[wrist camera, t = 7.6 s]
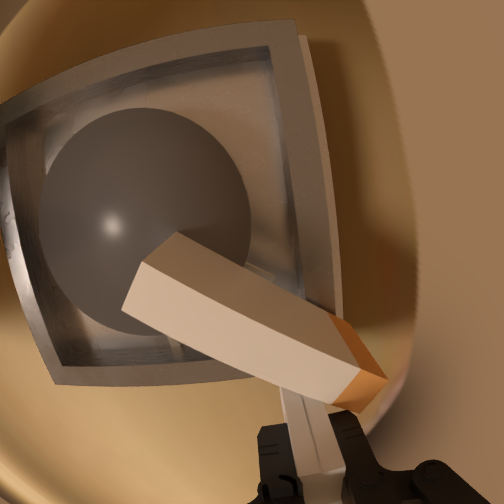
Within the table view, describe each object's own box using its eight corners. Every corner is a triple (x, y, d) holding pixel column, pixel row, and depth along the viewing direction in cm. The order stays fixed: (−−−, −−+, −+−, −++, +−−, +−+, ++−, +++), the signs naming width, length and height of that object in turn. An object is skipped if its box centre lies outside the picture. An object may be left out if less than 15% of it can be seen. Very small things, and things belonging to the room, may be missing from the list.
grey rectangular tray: (63, 361, 19) (45, 383, 16) (8, 121, 14) (-20, 117, 11) (339, 333, 19) (353, 358, 16) (302, 42, 14) (313, 19, 11)
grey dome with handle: (41, 258, 16) (-38, 300, 8) (111, 88, 14) (37, 42, 6) (277, 384, 18) (293, 475, 11) (378, 236, 16) (460, 276, 9)
